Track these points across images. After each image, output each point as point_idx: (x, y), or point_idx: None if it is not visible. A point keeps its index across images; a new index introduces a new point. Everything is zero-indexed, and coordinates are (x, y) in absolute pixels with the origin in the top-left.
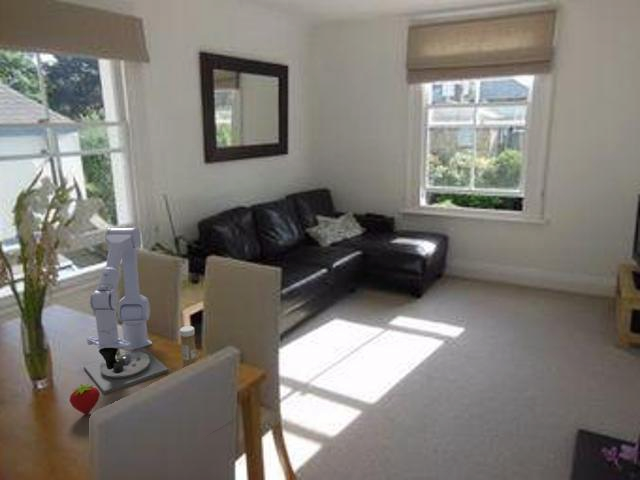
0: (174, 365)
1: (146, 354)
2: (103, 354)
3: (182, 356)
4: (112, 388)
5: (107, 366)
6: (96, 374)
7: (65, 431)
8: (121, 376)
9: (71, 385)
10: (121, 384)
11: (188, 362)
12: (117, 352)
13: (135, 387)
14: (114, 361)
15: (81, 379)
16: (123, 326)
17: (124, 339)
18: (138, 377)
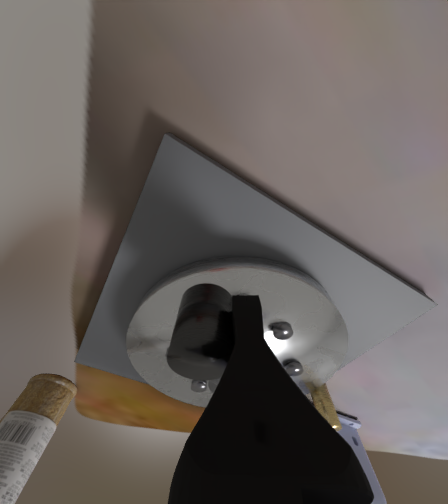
0: (101, 376)
1: (197, 404)
2: (277, 420)
3: (34, 422)
4: (147, 181)
5: (253, 307)
6: (331, 265)
7: None
8: (173, 277)
9: (435, 150)
10: (134, 229)
11: (19, 399)
12: (318, 395)
13: (84, 241)
14: (214, 352)
15: (398, 221)
16: (377, 499)
17: (352, 431)
18: (118, 297)
